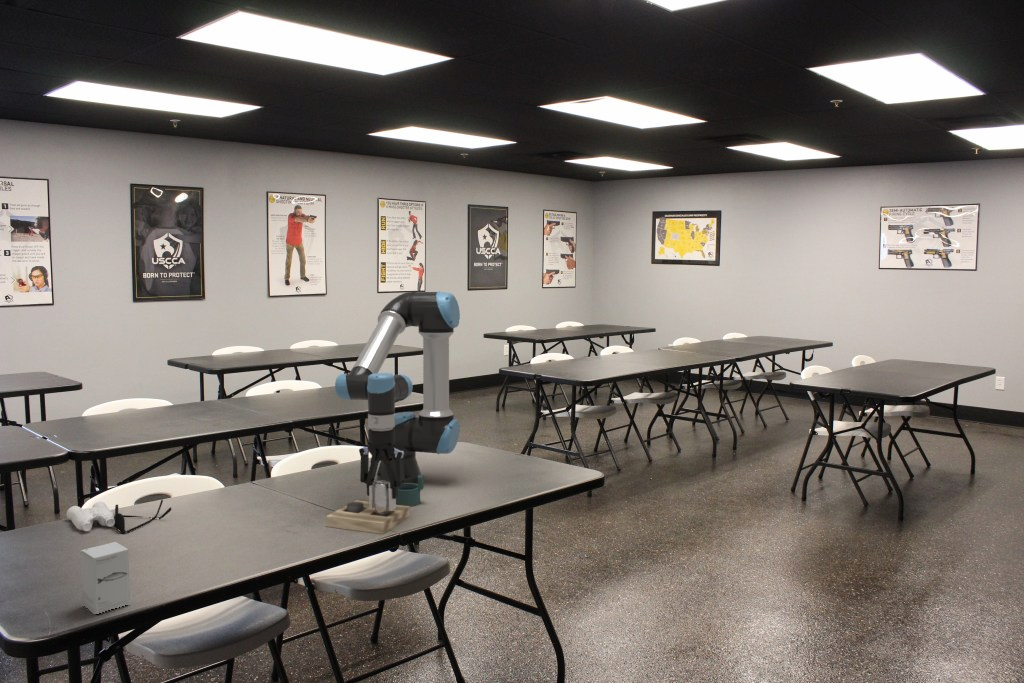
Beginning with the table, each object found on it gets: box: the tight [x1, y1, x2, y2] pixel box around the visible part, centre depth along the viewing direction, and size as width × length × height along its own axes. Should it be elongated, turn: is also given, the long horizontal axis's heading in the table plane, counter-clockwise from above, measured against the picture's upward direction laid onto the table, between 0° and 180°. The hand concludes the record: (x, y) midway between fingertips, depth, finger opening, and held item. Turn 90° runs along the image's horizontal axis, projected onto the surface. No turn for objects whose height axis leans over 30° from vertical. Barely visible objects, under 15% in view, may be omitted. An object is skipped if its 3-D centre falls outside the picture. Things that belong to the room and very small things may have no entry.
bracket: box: [389, 474, 425, 508], centre depth 239 cm, size 9×9×9 cm
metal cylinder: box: [373, 480, 390, 517], centre depth 219 cm, size 4×4×12 cm
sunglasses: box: [114, 499, 172, 535], centre depth 220 cm, size 17×14×5 cm
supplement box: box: [79, 541, 131, 615], centre depth 165 cm, size 7×7×13 cm
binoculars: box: [66, 501, 115, 532], centre depth 218 cm, size 10×16×5 cm, turn 40°
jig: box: [326, 499, 411, 535], centre depth 221 cm, size 16×18×4 cm
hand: (382, 508), depth 220 cm, fingers open, 5 cm apart
